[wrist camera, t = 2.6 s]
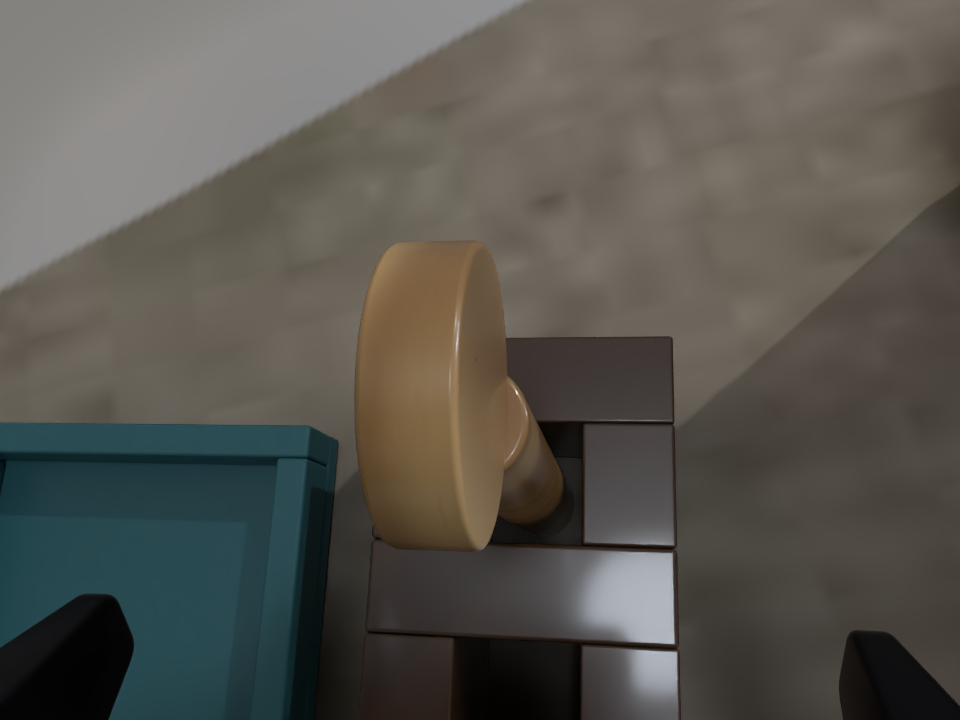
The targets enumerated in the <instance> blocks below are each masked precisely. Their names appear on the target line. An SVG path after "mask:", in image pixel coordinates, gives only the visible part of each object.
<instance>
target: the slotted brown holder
mask: <svg viewBox="0 0 960 720" xmlns="http://www.w3.org/2000/svg"><path fill="white" fill-rule="evenodd" d="M506 353H507V376H508V377H509V378H510V379H512V380H513V381H514V382H515V384H516V385H517V386H518V387H519V389H520V390H521V392H522V393H523V395H524V397H525V399H526V401H527V403H528V405H529V407H530V409H531V411H532V414H533V416H534V418H535V420H536V422H537V424H538V426H539V428H540V430H541V432H542V434H543V436H544V438H545V440H546V442H547V444H548V446H549V448H550V450H551V452H552V454H553V456H554V457H582V535H581V542H582V544H583V546H581V545H551V544H522V543H492V541H493V532H492V535H491V537H490V540H489V542H488V544H487V545H486V547H485V548H484V549H483V550H480V551H478V552H455V551H428V550H400V549H395V548H393V547H391V546H389V545H387V544H386V543H385V542H384V541H383V540H382V539H381V538H380V536H379V535H378V533H377V532H376V530H375V527H374V525H373V530H372V535H373V537H374V538H376V539H374V540H373V541H372V545H371V558H370V571H369V585H368V598H367V611H366V625H365V628H366V631H368V633H365V636H364V647H363V660H362V674H361V687H360V700H359V713H358V720H486V707H487V679H488V652H489V639H500V640H519V641H537V642H556V643H574V644H582V645H581V647H580V720H681V701H680V655H679V650H678V649H677V648H678V646H679V615H678V568H677V552H676V550H674V549H675V548H676V546H677V519H676V472H675V427H674V425H673V424H674V378H673V339H672V337H670V336H667V337H548V338H506Z"/></svg>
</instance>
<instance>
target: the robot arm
mask: <svg viewBox="0 0 960 720" xmlns="http://www.w3.org/2000/svg"><path fill="white" fill-rule="evenodd" d="M133 651H134V639H133V635H132V633H131V630H130V628H129V626H128V623H127V621H126V618H125V616H124V614H123V611H122V609H121V606H120V604H119V602H118V600H117V599H116V598H115V597H114V596H113V595H109V594H93V593H86V594H82V595H79V596H77V597H76V598H74V599H73V600H71V601H70V602H68V603H67V604H65V605H64V606H62V607H61V608H59V609H58V610H56V611H54V612H53V613H51V614H50V615H48V616H47V617H45V618H44V619H42V620H41V621H39V622H38V623H36V624H35V625H33V626H32V627H30V628H29V629H27V630H26V631H24V632H23V633H21V634H20V635H18V636H17V637H15V638H14V639H12V640H11V641H9V642H8V643H6V644H5V645H3V646H2V647H0V720H109V717H110V715H111V712H112V709H113V707H114V704H115V701H116V699H117V696H118V694H119V691H120V688H121V686H122V683H123V680H124V678H125V675H126V672H127V670H128V667H129V665H130V662H131V659H132V656H133ZM839 694H840V703H841V709H842V715H843V720H960V706H959V705H958V704H957V703H956V702H955V700H954V699H953V698H952V697H951V696H950V695H949V694H948V693H947V692H946V691H945V690H944V689H943V688H942V687H941V686H940V685H939V684H938V683H937V681H936V680H935V679H934V678H933V677H932V676H931V675H930V674H929V673H928V672H927V671H926V670H925V669H924V668H923V667H922V666H921V665H920V664H919V662H918V661H917V660H916V659H915V658H914V657H913V656H912V655H911V654H910V653H909V652H908V651H907V650H906V649H905V648H904V647H903V646H902V645H901V643H900V642H899V641H898V640H897V639H896V638H895V637H894V636H892V635H891V634H889V633H887V632H882V631H862V630H855V631H852V632H850V634H849V636H848V637H847V641H846V647H845V652H844V657H843V663H842V668H841V673H840V680H839Z"/></svg>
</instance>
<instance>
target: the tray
mask: <svg viewBox="0 0 960 720" xmlns="http://www.w3.org/2000/svg"><path fill="white" fill-rule="evenodd" d="M337 447H338V441H337V440H335V439H333V438H332V437H329V436H327V435H326V434H324V433H322V432H320V431H318V430H316V429H314V428H312V427H310V426H294V425H195V424H96V423H0V647H2V646H3V645H5V644H6V643H8V642H9V641H11V640H12V639H14V638H15V637H17V636H18V635H20V634H21V633H23V632H24V631H26V630H27V629H29V628H30V627H32V626H33V625H35V624H36V623H38V622H39V621H41V620H42V619H44V618H45V617H47V616H48V615H50V614H51V613H53V612H54V611H56V610H58V609H59V608H61V607H62V606H64V605H65V604H67V603H68V602H70V601H71V600H73V599H74V598H76V597H77V596H79V595H82V594H86V593H93V594H109V595H113V596H114V597H115V598H116V599H117V600H118V602H119V604H120V606H121V609H122V611H123V614H124V616H125V618H126V621H127V623H128V626H129V628H130V630H131V633H132V635H133V639H134V651H133V656H132V659H131V662H130V665H129V667H128V670H127V672H126V675H125V678H124V680H123V683H122V686H121V688H120V691H119V694H118V696H117V699H116V701H115V704H114V707H113V709H112V712H111V715H110V717H109V720H313V718H314V707H315V696H316V684H317V673H318V662H319V651H320V639H321V628H322V617H323V605H324V594H325V583H326V572H327V560H328V549H329V538H330V526H331V515H332V504H333V493H334V481H335V470H336V459H337Z"/></svg>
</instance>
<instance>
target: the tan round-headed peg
mask: <svg viewBox="0 0 960 720" xmlns="http://www.w3.org/2000/svg"><path fill="white" fill-rule="evenodd" d="M354 402H355V431H356V446H357V455H358V464H359V470H360V476H361V482H362V488H363V492H364V496H365V501H366V505H367V508H368V511H369V515H370V518H371V520H372V523H373V525H374V527H375V530H376V532H377V533H378V535H379V536H380V538H381V539H382V540H383V541H384V542H385V543H386V544H387V545H389V546H391V547H393V548H395V549H400V550H428V551H455V552H478V551H480V550H483V549H484V548H485V547H486V545H487V544H488V542H489V540H490V537H491V535H492V532H493V530H494V526H495V523H496V519H497V515H499V516H500V517H502V518H504V519H505V520H507V521H508V522H510V523H512V524H513V525H515V526H516V527H518V528H519V529H521V530H523V531H524V532H526V533H528V534H530V535H533V536H537V537H546V536H551V535H554V534H556V533H558V532H559V531H561V530H562V529H563V528H564V527H565V526H566V525H567V524H568V522H569V521H570V519H571V517H572V514H573V509H574V500H573V495H572V492H571V490H570V488H569V486H568V484H567V482H566V480H565V478H564V476H563V474H562V472H561V470H560V468H559V466H558V464H557V462H556V460H555V458H554V456H553V454H552V452H551V450H550V448H549V446H548V444H547V442H546V440H545V438H544V436H543V434H542V432H541V430H540V428H539V426H538V424H537V422H536V420H535V418H534V416H533V414H532V411H531V409H530V407H529V405H528V403H527V401H526V399H525V397H524V395H523V393H522V392H521V390H520V389H519V387H518V386H517V385H516V384H515V382H514V381H513V380H512V379H510V378H509V377H508V376H507V353H506V336H505V323H504V313H503V304H502V297H501V290H500V284H499V279H498V275H497V271H496V267H495V264H494V261H493V258H492V255H491V253H490V251H489V249H488V247H487V246H486V245H485V244H484V243H482V242H479V241H477V240H469V241H435V242H402V243H397V244H394V245H392V246H391V247H389V248H388V249H386V251H385V252H384V253H383V254H382V255H381V257H380V259H379V261H378V262H377V264H376V266H375V269H374V271H373V274H372V277H371V279H370V283H369V286H368V290H367V293H366V297H365V302H364V307H363V311H362V316H361V322H360V329H359V335H358V344H357V354H356V368H355V398H354Z"/></svg>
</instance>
